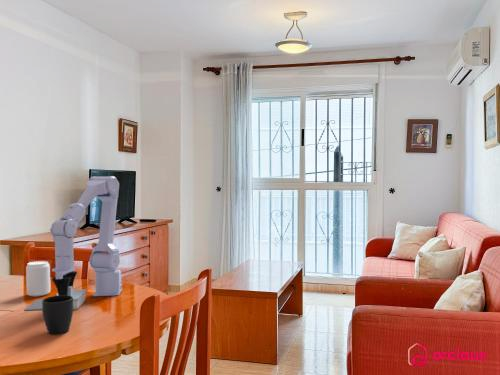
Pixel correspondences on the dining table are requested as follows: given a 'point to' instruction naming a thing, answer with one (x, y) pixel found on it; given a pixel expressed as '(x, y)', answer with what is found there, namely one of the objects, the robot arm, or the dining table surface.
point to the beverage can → (38, 278)
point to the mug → (57, 313)
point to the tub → (78, 302)
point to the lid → (75, 293)
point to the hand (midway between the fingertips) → (65, 295)
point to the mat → (35, 305)
